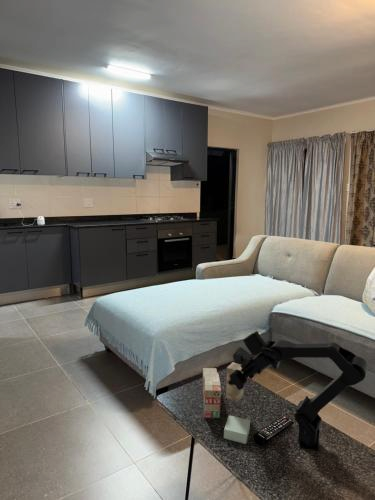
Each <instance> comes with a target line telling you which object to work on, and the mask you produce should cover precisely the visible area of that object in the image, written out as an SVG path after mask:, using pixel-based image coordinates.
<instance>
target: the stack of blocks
mask: <svg viewBox="0 0 375 500" xmlns="http://www.w3.org/2000/svg"><path fill="white" fill-rule="evenodd" d="M220 379H221V378H220V376H219V372H218V370H217V368H213V367H212V368H211V367H210V368H209V367H208V368H207V367H205V368H204V367H203V368H202V399H203V418H204V419H220V418H221V401H222V397H221V396H222V388H221V380H220Z"/></svg>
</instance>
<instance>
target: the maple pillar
mask: <svg viewBox="0 0 375 500" xmlns="http://www.w3.org/2000/svg"><path fill="white" fill-rule="evenodd" d="M241 365H242V364H241V363H237V362H235V361H232V362H231V363H230V364H229V365H228V366H227V367H226V390H225V391H226V393H225V394H226V395H225V398H227V399H229V400H231V401H235V402H236V403H238V402H239V401H240V400H241V399H242V398H243V397H244V388H245V387H244V388H242V389H241V390H238V389H237V387H236V386H235V385H230V384H229V383H228V382H229V381H230V380H231V378H230V376H229V375H230V374H231V373H232V372H234V371H235V370H236V369H237V370H240V371H241V369H242V368H241ZM241 373H243V372H242V371H241Z"/></svg>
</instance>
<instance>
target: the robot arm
mask: <svg viewBox="0 0 375 500" xmlns="http://www.w3.org/2000/svg"><path fill="white" fill-rule="evenodd" d="M242 342H243V344H244V345H245V346H246V348H247V349H248V351H249V352H248V351H247V350H246V349H244V348H243V347H241V346H240V347H238V348H237V349H235V352H234V353H233V354H232V358H233V360H234V362H235V363H237V364H240V365H241V368H242V369H241V371H242V372H243V373H241V371H240V370H237V369H236V370H235V371H234V372H232V373H231V374H230V375H229V376H230V378H231V380H230V381H229V382H228V383H229V384H230V385H235V386H236V387H237V389H238V390H241V389H242V388H245V387H246V386H247V384H248V378H249V379H250V380H251V379H253V378H255V376H257V375H260V374H261V373H263V371H265V370H266V369H268V368H270V367H273V369H274V370H275V371H276V370H277V369H278V368H279V367H280V363H281V362H285V361H289V360H291V359H295V358H297V359H298V358H300V359H301V358H302V359H303V358H308V359H309V358H310V359H311V358H312V359H315V358H318V359H319V358H321V359H322V358H323V359H324V358H325V359H326V358H329V360H331V361H332V362H333V363H334V365H336V367H337V368H338V369H339V370H341V371H340V373H339V374H338V375H337V376H336V377H335V378H334V379H333V380H331V381H330V382H329V383H328V384H327V385H326V386H324V388H323V389H321V391H319V392H318V393H317V394H316V395H315V396H314V397H311V398H310V397H309V396H308V395H306V396H305V397H304V398H303V399H302V400H300V401H299V403H298V405H297V407H296V408H295V409H294V410H295V413H294V419H295V421H296V422H297V425H298V427H297V441H298V446H299V447H300V448H304V449H308V450H311V451H313V450H314V451H317V452H319V450H320V447H319V443H320V442H319V441H320V433H321V431H320V425H321V422H322V420H323V419H322V417H321V416H320V414H319V412H320V411H321V410H322V409H324V408H325V407H326V406H327V405H328V404H329V403H330V402H331V401H333V400H334V399H335V398H336V397H337V396H339V394H341V393H342V392H343V391H344V390H345V389H347V388H348V387H352V386H355V385H358V384H359V383H361V382H362V381H363V380H365V378H366V374H367V371H368V368H369V365H368V363H367V361H366V360H365V359H364V358H363V357H360V356H357V355H356V354H355V353H354V352H352V351H351V350H348V349H346V348H344V347H342V345H339V344H338V343H336V342H330V343H293V342H291V341H290V340H282V339H279V340H266V341H265V340H264V339H263V337H261V334H260V333H259V332H258V331H257V330H256V331H254V332H251V333H250V334H248V335H247V336H246V337H244V339H242ZM250 353H251V354H250Z"/></svg>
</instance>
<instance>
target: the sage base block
mask: <svg viewBox="0 0 375 500" xmlns="http://www.w3.org/2000/svg"><path fill="white" fill-rule="evenodd" d="M250 427H251V420H250V419H246V418H242V417H239V416H234V415H228V418H227V421H226V423H225V426H224V429H223V439H225V440H230V441H233V442H236V443H240V444H244V445H246V444H247V442H248V438H249V434H250Z"/></svg>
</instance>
